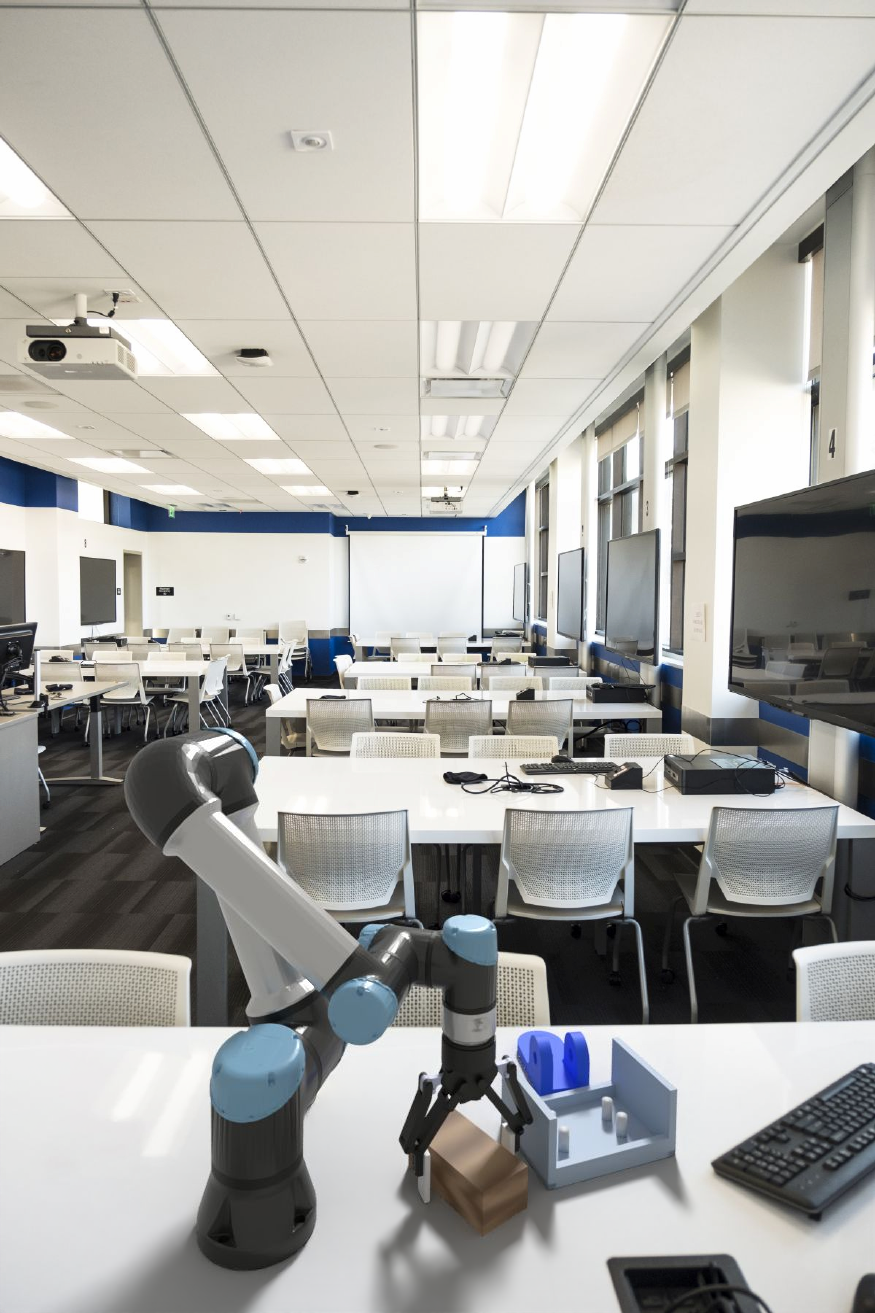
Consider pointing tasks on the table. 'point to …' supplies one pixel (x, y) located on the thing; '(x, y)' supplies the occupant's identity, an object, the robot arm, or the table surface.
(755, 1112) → the table surface
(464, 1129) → the brown wooden block
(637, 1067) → the frame
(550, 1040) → the bracket
